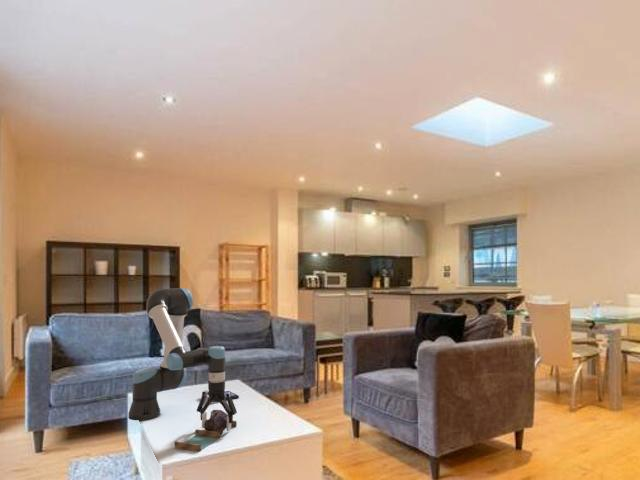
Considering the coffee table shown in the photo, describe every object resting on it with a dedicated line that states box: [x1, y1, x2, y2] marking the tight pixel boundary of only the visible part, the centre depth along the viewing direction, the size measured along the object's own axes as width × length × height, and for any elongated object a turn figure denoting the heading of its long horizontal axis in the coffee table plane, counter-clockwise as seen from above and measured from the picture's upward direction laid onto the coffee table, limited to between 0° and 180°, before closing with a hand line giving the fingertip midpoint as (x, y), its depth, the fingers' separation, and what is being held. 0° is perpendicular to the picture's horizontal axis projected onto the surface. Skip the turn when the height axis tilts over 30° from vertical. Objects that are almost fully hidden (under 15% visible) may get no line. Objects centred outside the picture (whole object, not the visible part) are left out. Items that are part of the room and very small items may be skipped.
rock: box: [203, 409, 228, 435], centre depth 205 cm, size 12×9×10 cm
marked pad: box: [183, 435, 219, 451], centre depth 191 cm, size 12×13×1 cm
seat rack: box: [174, 420, 238, 453], centre depth 199 cm, size 12×31×2 cm, turn 162°
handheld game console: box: [207, 380, 240, 401], centre depth 262 cm, size 16×13×9 cm
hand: (216, 428), depth 206 cm, fingers closed on rock, 12 cm apart
